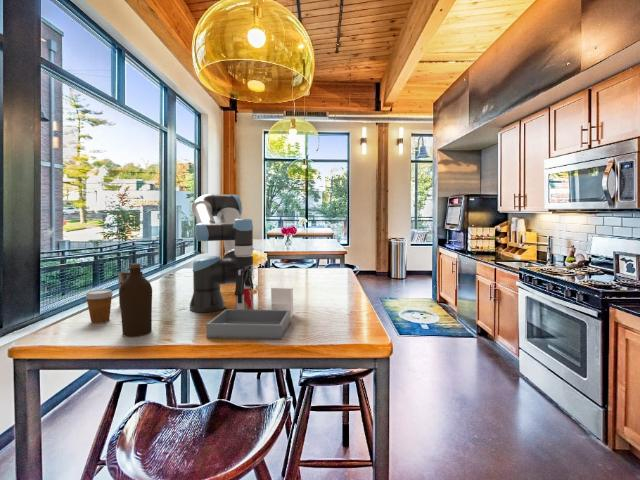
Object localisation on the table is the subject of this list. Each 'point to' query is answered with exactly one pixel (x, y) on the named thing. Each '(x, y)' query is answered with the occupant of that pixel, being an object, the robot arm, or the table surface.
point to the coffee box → (123, 278)
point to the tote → (249, 324)
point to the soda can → (247, 298)
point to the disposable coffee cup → (99, 305)
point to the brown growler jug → (136, 304)
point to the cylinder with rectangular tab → (282, 299)
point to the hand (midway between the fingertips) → (244, 307)
